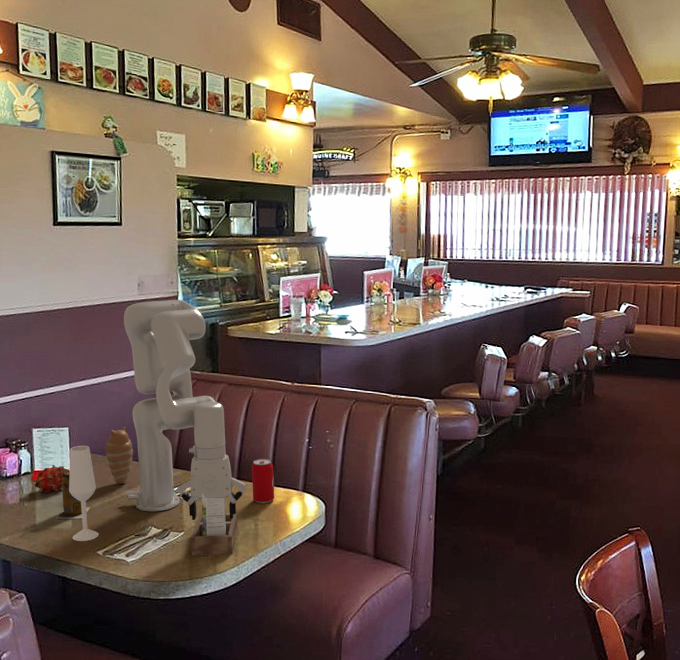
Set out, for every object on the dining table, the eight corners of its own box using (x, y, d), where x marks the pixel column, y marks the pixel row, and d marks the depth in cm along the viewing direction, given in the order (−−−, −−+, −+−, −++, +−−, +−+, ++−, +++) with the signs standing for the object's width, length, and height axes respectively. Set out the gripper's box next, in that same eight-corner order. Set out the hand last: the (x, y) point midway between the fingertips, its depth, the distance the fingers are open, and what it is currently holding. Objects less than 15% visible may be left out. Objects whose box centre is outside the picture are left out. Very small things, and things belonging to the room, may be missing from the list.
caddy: (191, 555, 196) (190, 528, 195) (200, 530, 212) (198, 505, 211) (232, 553, 196) (231, 527, 195) (237, 529, 212) (236, 504, 211)
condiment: (90, 507, 230) (87, 468, 228) (82, 518, 222) (79, 477, 220) (65, 508, 230) (62, 468, 228) (55, 519, 221) (52, 478, 220)
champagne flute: (66, 539, 207) (60, 450, 204) (83, 529, 213) (77, 443, 210) (87, 542, 205) (81, 452, 202) (104, 532, 211) (98, 445, 208)
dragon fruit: (73, 489, 250) (40, 506, 241) (57, 471, 253) (24, 487, 244) (78, 472, 245) (45, 489, 236) (62, 454, 248) (28, 469, 239)
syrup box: (203, 538, 203) (201, 484, 201) (226, 537, 204) (224, 483, 202) (203, 547, 198) (200, 492, 196) (226, 546, 199) (224, 490, 196)
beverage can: (276, 497, 236) (274, 458, 234) (272, 504, 230) (270, 464, 228) (255, 496, 236) (254, 458, 235) (251, 504, 230) (249, 464, 229)
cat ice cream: (125, 477, 257) (122, 423, 254) (140, 482, 252) (137, 427, 249) (102, 484, 250) (98, 429, 247) (117, 489, 245) (113, 433, 242)
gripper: (172, 457, 193) (176, 524, 196) (244, 455, 194) (246, 521, 196) (177, 448, 201) (180, 513, 203) (246, 446, 201) (248, 510, 204)
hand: (213, 517), depth 200 cm, fingers open, 9 cm apart
